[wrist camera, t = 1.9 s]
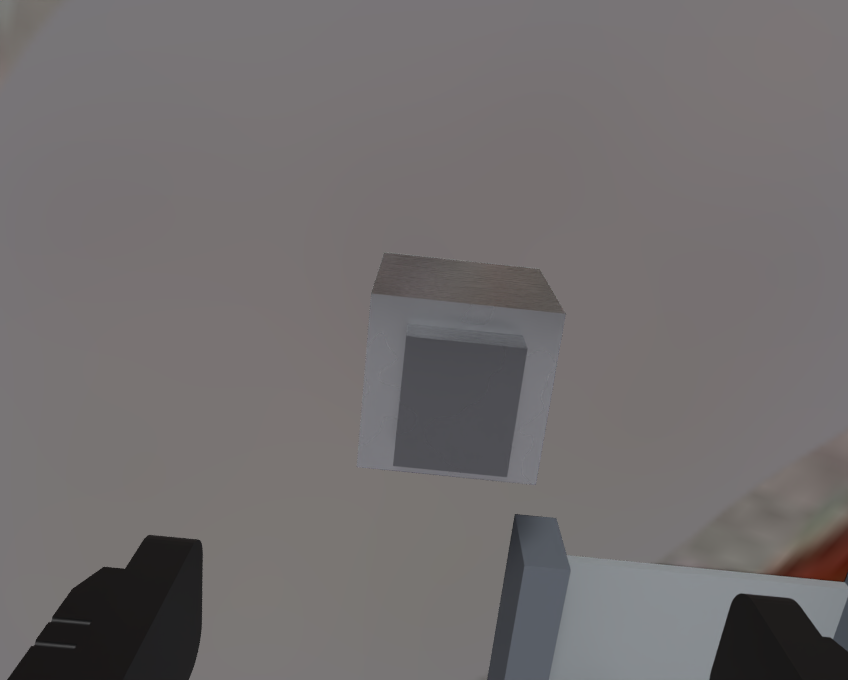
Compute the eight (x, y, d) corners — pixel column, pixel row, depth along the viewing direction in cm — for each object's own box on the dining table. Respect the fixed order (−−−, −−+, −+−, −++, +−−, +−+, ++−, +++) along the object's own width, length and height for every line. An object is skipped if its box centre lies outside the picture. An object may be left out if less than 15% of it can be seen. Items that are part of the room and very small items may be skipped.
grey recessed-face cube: (539, 268, 23) (573, 325, 18) (516, 410, 25) (540, 504, 19) (384, 252, 23) (367, 304, 18) (371, 395, 25) (352, 485, 19)
